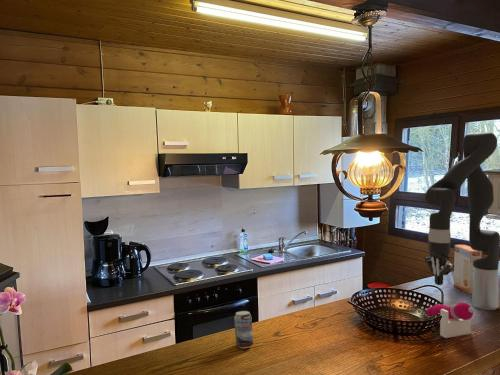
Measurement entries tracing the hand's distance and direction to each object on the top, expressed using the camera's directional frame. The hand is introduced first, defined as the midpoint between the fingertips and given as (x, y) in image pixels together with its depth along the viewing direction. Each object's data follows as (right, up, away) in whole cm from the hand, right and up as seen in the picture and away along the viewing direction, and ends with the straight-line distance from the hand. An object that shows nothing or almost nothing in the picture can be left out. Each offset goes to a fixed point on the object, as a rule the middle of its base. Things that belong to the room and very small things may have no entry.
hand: (438, 284), depth 146 cm
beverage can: (-75, -19, -12) cm, 78 cm away
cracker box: (+33, -13, +39) cm, 53 cm away
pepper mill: (0, -13, +4) cm, 14 cm away
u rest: (+3, -17, -7) cm, 18 cm away
